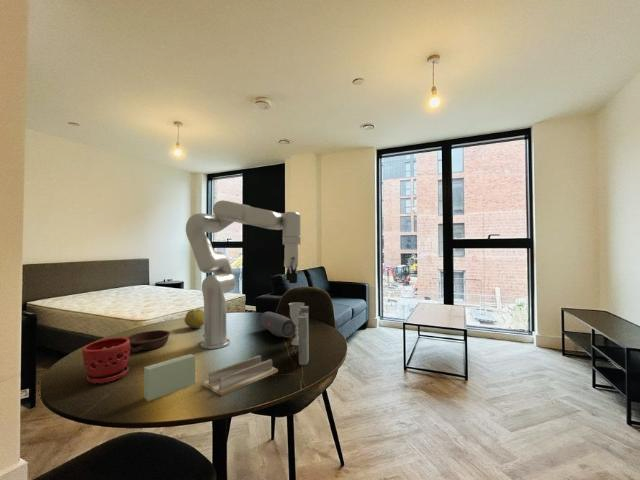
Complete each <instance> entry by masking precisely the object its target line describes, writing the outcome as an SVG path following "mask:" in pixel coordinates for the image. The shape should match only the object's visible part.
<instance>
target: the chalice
mask: <svg viewBox="0 0 640 480" xmlns="http://www.w3.org/2000/svg"><path fill="white" fill-rule="evenodd" d="M288 305H289V316H290V319H291V320H292V321H293V323H294V324H295V325H296V328H295V329H296V330H295V333H294V334H295V337H294V338H293V339H292V341H291V344H290V345H292V346H299V320H298V317H299V309H300V307H301V306H305V302H300V301H298V302H296V301H295V302H294V301H293V302H290V303H288Z"/></svg>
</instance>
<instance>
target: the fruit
mask: <svg viewBox="0 0 640 480" xmlns="http://www.w3.org/2000/svg"><path fill="white" fill-rule="evenodd" d="M184 323H185V325H186V326H187V327H189V328H191V329H199V328H201V327H203V326H204V310H202V309H199V308H198V309H197V308H196V309H191V310H189V311H187V313H186V314H185V317H184Z"/></svg>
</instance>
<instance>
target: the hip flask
mask: <svg viewBox="0 0 640 480" xmlns="http://www.w3.org/2000/svg"><path fill="white" fill-rule="evenodd" d="M309 308H310V307H309V305H304V306H301V307H300V309H299V317H298V320H299V324H298V328H299V329H298V332H299V333H298V337H299V345H298V364H299V365H300V366H306V365H308V363H309V360H310V350H309V349H310V344H309V343H310V341H309V339H310V335H309V333H310V332H309V331H310V330H309Z"/></svg>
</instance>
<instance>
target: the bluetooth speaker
mask: <svg viewBox="0 0 640 480" xmlns="http://www.w3.org/2000/svg"><path fill="white" fill-rule="evenodd" d="M259 322H260V325H261V326H262V327H263V328H264V329H265V330H268V331H269V332H270V333H271V334H272V335H274V336H275V337H277V338H290V337H292V336H294V334H295V332H296V329H295V328H296V324H294V323H293V321H292V319H291V318H289V317H286V316H284V315H282V314H278V313H276V312H272V311H265V312H264V313H262V314H261V316H260V318H259Z"/></svg>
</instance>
